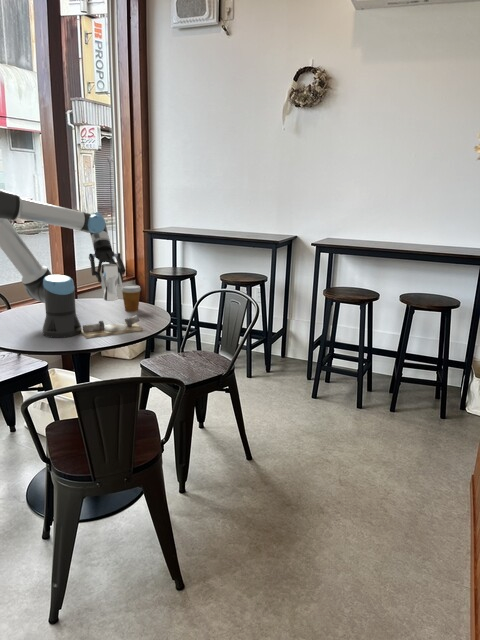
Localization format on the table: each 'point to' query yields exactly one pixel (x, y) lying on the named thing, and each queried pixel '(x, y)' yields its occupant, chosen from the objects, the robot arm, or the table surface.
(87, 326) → the shaft cradle
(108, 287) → the beer glass
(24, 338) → the table surface
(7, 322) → the table surface
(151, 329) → the table surface
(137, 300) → the disposable coffee cup
